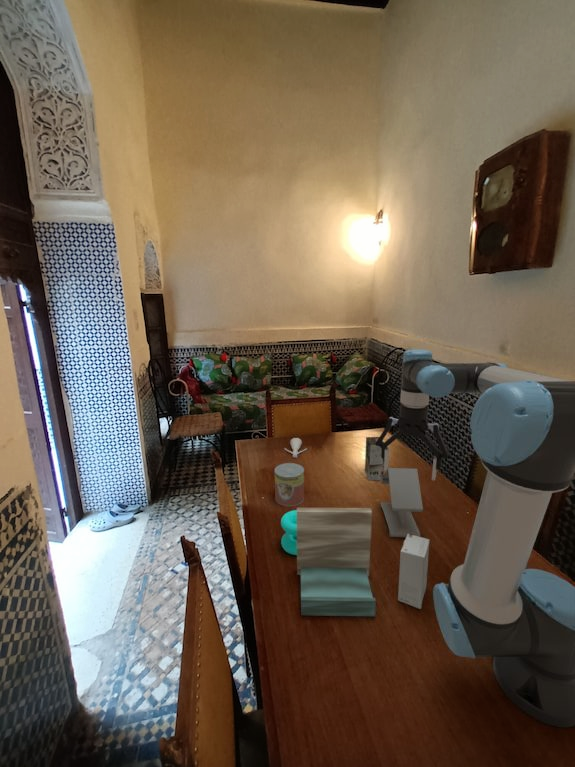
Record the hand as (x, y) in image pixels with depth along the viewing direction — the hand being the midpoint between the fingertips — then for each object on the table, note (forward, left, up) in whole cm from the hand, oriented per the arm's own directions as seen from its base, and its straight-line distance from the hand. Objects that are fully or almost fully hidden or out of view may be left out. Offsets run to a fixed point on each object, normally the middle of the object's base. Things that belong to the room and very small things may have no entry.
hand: (409, 473), depth 106 cm
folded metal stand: (+12, -2, -25) cm, 27 cm away
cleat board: (-19, +23, -24) cm, 39 cm away
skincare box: (-19, +3, -25) cm, 31 cm away
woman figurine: (+69, +34, -25) cm, 81 cm away
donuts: (-1, +33, -25) cm, 42 cm away
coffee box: (+44, 0, -25) cm, 50 cm away
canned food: (+26, +36, -25) cm, 51 cm away
